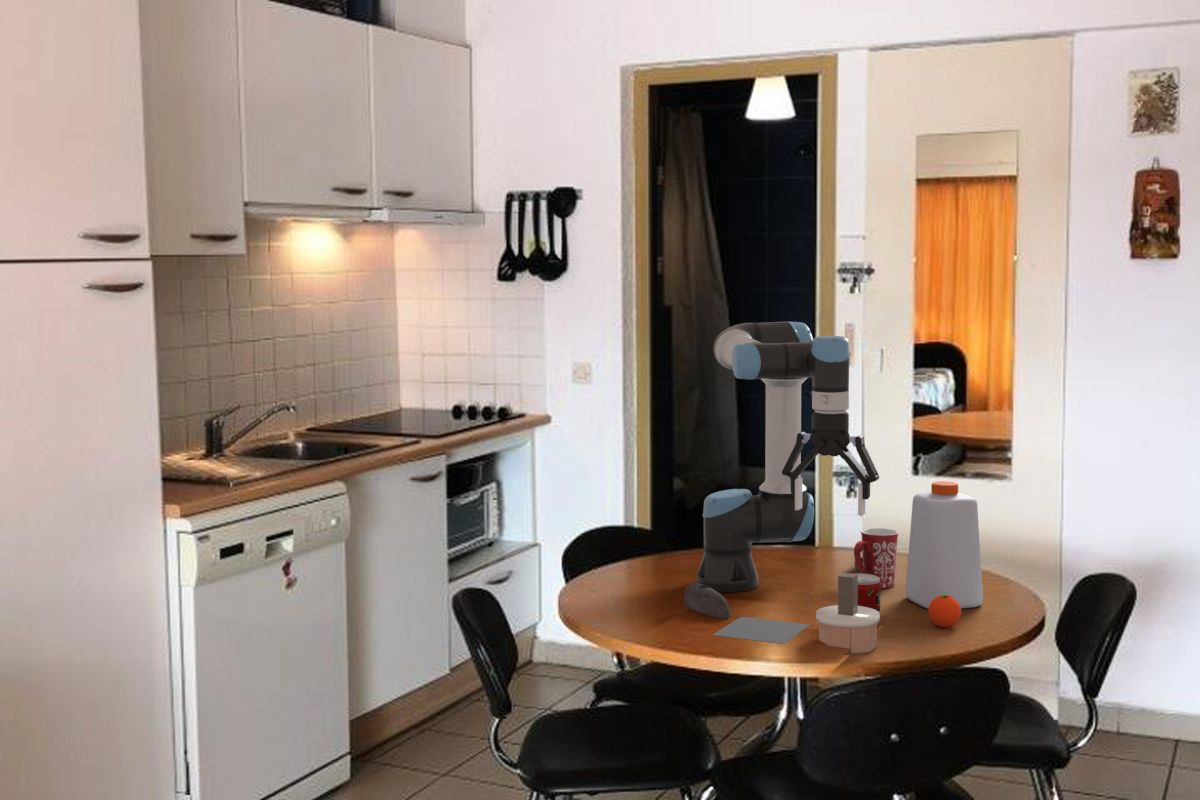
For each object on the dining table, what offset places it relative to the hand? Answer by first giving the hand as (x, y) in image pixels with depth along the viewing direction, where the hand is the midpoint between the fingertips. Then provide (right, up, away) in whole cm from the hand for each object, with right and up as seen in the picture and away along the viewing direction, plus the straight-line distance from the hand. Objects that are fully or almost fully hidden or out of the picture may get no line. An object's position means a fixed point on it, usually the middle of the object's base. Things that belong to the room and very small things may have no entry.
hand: (829, 511), depth 287 cm
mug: (+19, -22, +48) cm, 56 cm away
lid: (+3, -22, -3) cm, 22 cm away
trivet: (-13, -27, +6) cm, 31 cm away
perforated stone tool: (-23, -26, +22) cm, 41 cm away
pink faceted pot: (+3, -28, -2) cm, 28 cm away
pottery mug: (+22, -20, +66) cm, 73 cm away
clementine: (+27, -26, +12) cm, 39 cm away
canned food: (+9, -26, +13) cm, 31 cm away
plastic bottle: (+32, -24, +32) cm, 51 cm away
